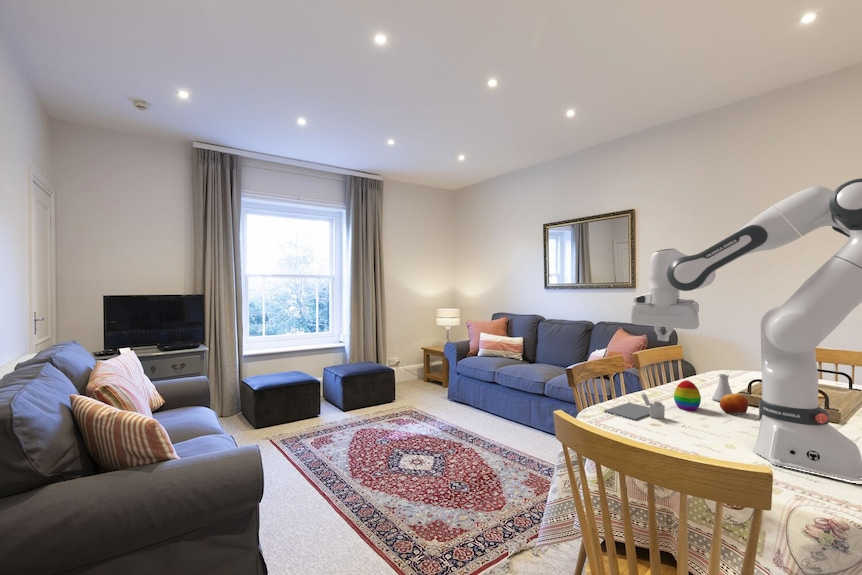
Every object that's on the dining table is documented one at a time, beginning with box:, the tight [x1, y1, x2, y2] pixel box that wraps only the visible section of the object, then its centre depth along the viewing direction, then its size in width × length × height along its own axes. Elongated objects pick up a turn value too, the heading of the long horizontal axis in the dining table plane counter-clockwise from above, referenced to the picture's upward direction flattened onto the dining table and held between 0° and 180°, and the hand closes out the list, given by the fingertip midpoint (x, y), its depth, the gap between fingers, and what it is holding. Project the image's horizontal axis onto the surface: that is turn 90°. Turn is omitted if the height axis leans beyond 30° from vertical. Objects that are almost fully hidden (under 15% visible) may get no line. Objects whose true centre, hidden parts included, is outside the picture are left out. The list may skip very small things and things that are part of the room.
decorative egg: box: [673, 380, 702, 411], centre depth 148 cm, size 8×8×10 cm
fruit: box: [719, 393, 749, 417], centre depth 142 cm, size 8×8×8 cm
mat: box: [604, 402, 650, 421], centre depth 144 cm, size 11×16×1 cm
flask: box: [711, 373, 733, 402], centre depth 157 cm, size 7×7×10 cm
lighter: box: [640, 391, 666, 420], centre depth 138 cm, size 7×2×8 cm, turn 72°
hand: (663, 340), depth 135 cm, fingers closed
